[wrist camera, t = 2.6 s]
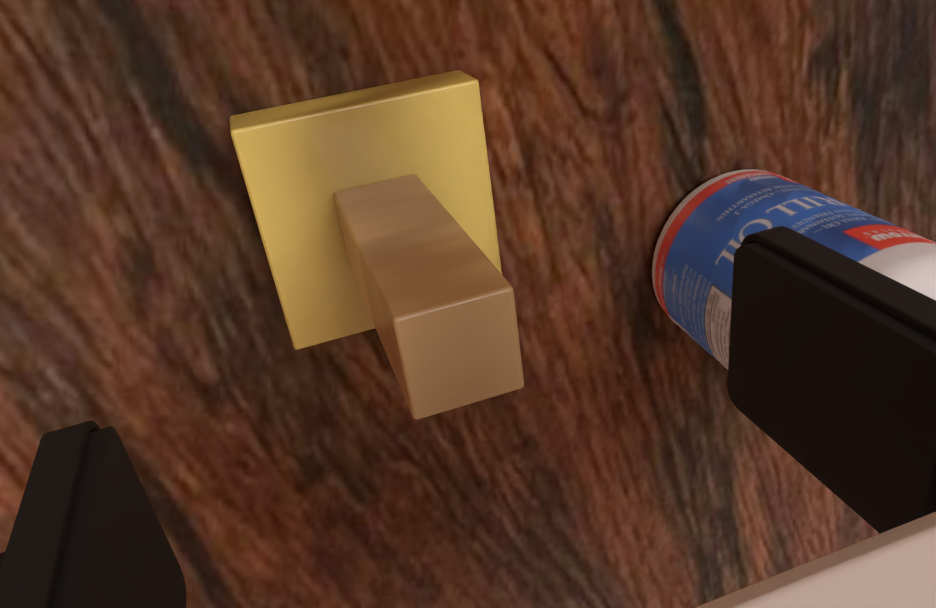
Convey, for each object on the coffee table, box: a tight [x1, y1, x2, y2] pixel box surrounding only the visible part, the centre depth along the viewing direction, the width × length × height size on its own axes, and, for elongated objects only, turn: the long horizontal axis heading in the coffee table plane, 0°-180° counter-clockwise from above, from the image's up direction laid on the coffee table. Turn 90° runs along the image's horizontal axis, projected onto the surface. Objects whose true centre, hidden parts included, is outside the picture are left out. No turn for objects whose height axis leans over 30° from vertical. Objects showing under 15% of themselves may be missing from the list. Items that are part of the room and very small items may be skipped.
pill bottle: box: [652, 169, 936, 369], centre depth 19 cm, size 6×5×10 cm
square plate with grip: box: [229, 70, 524, 419], centre depth 15 cm, size 6×6×8 cm
